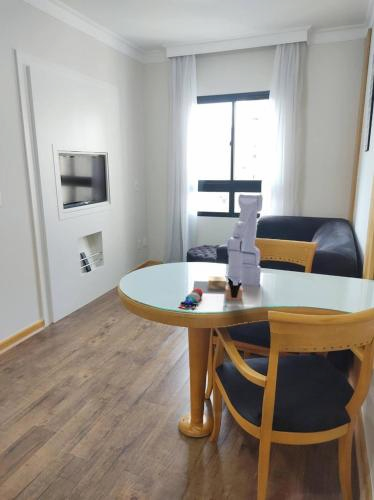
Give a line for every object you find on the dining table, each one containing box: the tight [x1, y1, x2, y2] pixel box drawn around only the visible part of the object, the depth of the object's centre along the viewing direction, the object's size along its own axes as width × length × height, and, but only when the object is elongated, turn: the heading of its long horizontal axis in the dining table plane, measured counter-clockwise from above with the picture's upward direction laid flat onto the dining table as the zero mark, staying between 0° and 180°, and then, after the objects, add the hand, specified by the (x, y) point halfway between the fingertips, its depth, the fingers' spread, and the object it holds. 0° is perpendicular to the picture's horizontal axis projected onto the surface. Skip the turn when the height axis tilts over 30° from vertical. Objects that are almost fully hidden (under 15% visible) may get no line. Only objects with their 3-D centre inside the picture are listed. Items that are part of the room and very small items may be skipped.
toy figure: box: [179, 289, 204, 308], centre depth 151 cm, size 8×5×15 cm
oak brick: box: [208, 275, 227, 289], centre depth 169 cm, size 8×6×4 cm
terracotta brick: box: [224, 286, 244, 301], centre depth 156 cm, size 7×4×5 cm, turn 86°
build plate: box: [192, 280, 229, 295], centre depth 168 cm, size 20×16×1 cm
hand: (233, 295), depth 156 cm, fingers closed on terracotta brick, 4 cm apart
